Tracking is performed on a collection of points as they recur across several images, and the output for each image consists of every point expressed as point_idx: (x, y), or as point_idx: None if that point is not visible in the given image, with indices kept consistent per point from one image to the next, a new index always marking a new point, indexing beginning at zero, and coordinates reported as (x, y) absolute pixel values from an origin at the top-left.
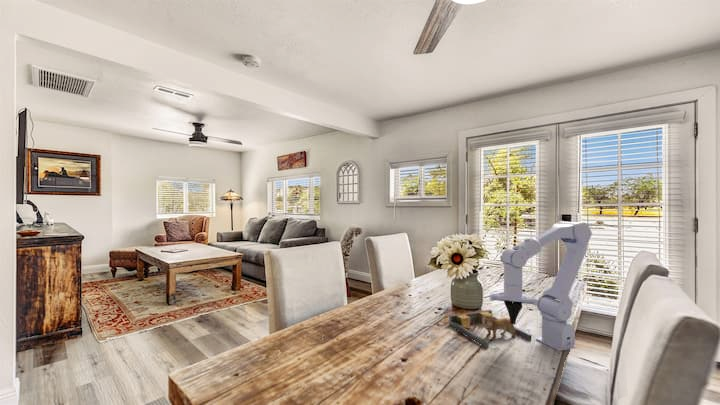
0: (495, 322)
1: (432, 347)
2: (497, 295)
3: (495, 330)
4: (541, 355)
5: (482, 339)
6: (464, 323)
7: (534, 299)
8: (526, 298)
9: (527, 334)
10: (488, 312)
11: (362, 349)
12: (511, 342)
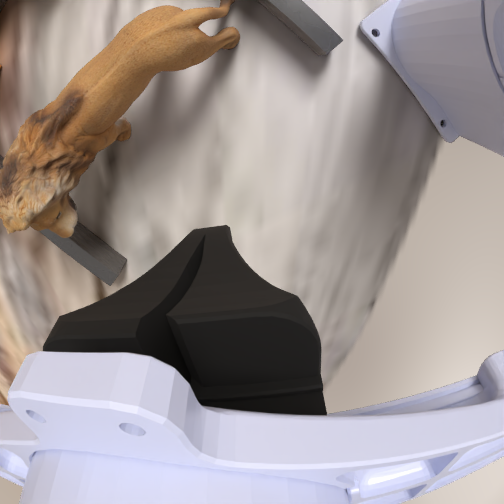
0: (84, 143)
1: (6, 328)
2: (7, 468)
3: (110, 141)
4: (358, 219)
5: (86, 259)
6: None
7: (492, 461)
8: (413, 480)
9: (318, 43)
10: None
11: None
12: (218, 128)
